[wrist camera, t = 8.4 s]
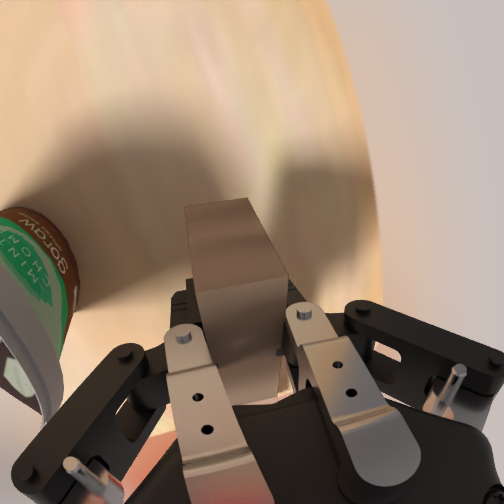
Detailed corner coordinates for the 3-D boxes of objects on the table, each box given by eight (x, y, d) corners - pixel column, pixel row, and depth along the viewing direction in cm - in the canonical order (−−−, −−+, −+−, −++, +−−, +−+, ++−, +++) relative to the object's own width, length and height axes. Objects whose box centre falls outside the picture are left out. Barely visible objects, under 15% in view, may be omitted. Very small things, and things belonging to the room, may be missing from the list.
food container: (131, 262, 17) (93, 375, 8) (89, 324, 18) (51, 436, 9) (0, 152, 12) (-108, 178, 3) (-29, 225, 13) (-115, 284, 4)
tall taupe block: (158, 211, 11) (155, 300, 7) (272, 194, 12) (324, 268, 8) (205, 381, 20) (217, 442, 16) (268, 368, 21) (288, 426, 17)
